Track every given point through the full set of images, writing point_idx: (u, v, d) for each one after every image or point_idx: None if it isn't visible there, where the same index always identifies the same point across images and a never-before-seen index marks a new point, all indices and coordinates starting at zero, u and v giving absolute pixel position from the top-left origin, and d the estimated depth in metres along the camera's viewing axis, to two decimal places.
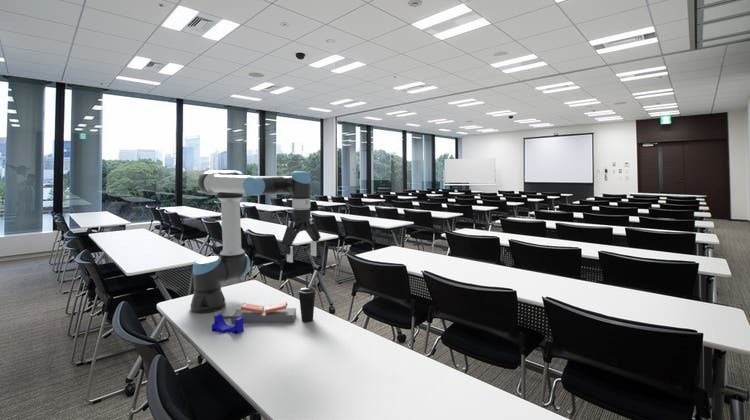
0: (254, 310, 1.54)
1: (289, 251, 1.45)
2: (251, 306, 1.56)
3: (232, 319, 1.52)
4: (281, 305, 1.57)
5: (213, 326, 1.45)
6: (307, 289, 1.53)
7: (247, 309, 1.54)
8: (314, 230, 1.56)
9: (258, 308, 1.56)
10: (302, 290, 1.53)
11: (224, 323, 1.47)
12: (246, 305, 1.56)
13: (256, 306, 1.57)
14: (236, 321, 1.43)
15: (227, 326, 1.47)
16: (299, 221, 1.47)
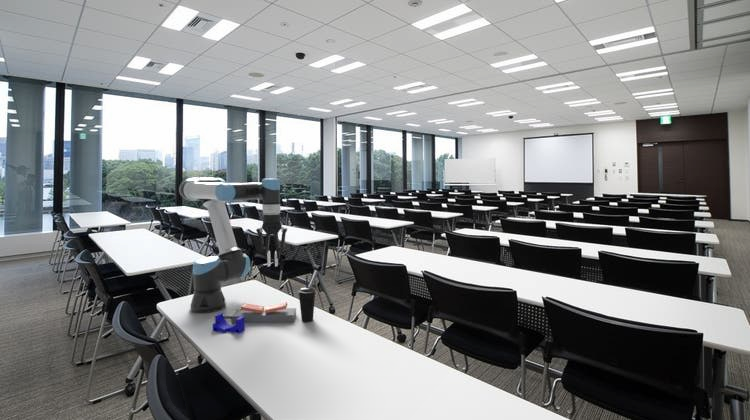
0: (254, 310, 1.54)
1: (266, 256, 1.59)
2: (251, 306, 1.56)
3: (232, 319, 1.52)
4: (281, 305, 1.57)
5: (214, 325, 1.45)
6: (307, 289, 1.53)
7: (247, 309, 1.54)
8: None
9: (258, 308, 1.56)
10: (302, 290, 1.53)
11: (225, 322, 1.48)
12: (246, 305, 1.56)
13: (256, 306, 1.57)
14: (237, 320, 1.43)
15: (228, 325, 1.47)
16: (264, 224, 1.57)
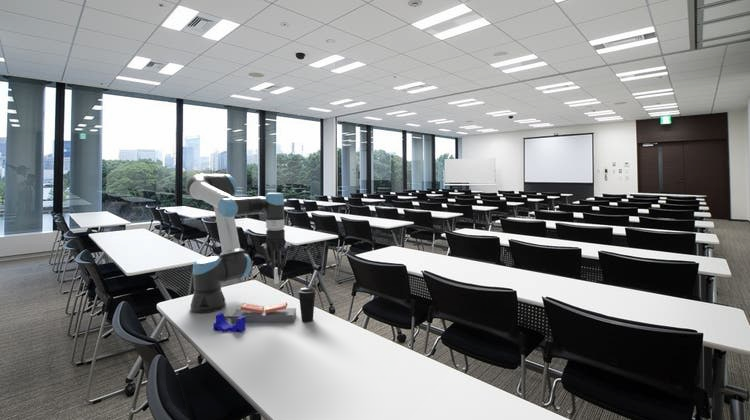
0: (254, 310, 1.54)
1: (273, 272, 1.55)
2: (251, 306, 1.56)
3: (232, 319, 1.52)
4: (281, 305, 1.57)
5: (215, 325, 1.46)
6: (307, 289, 1.53)
7: (247, 309, 1.54)
8: (284, 256, 1.55)
9: (258, 308, 1.56)
10: (302, 290, 1.53)
11: (226, 322, 1.48)
12: (246, 305, 1.56)
13: (256, 306, 1.57)
14: (238, 320, 1.44)
15: (229, 325, 1.48)
16: (268, 240, 1.53)
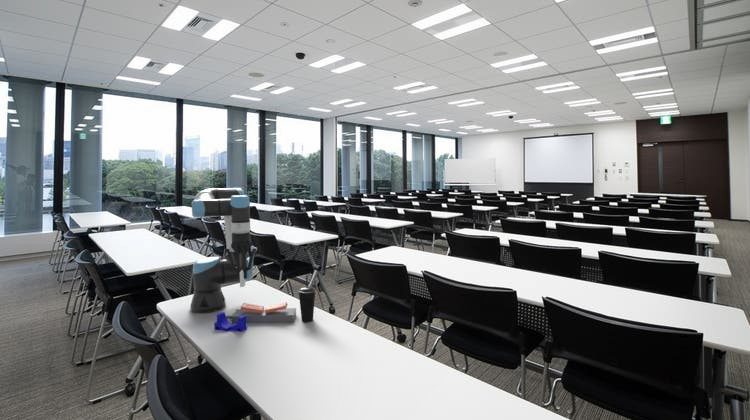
0: (254, 310, 1.54)
1: (239, 276, 1.54)
2: (251, 306, 1.56)
3: (232, 319, 1.52)
4: (281, 305, 1.57)
5: (216, 324, 1.46)
6: (307, 289, 1.53)
7: (247, 309, 1.54)
8: None
9: (258, 308, 1.56)
10: (302, 290, 1.53)
11: (227, 321, 1.49)
12: (246, 305, 1.56)
13: (256, 306, 1.57)
14: (239, 319, 1.45)
15: (230, 324, 1.48)
16: (233, 243, 1.52)
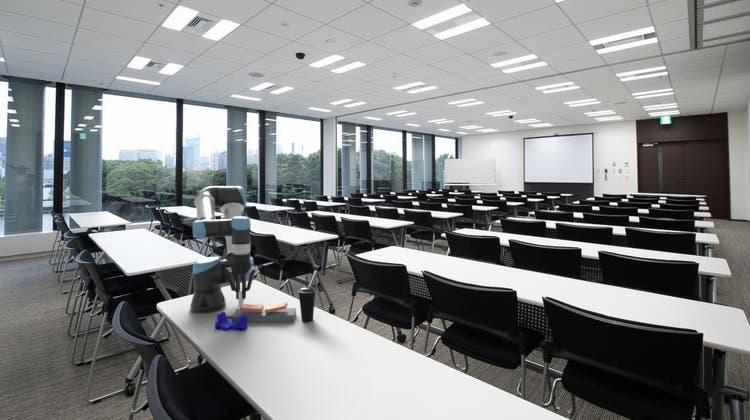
0: (253, 309, 1.54)
1: (237, 296, 1.55)
2: (250, 306, 1.56)
3: (232, 319, 1.52)
4: (281, 305, 1.57)
5: (217, 324, 1.47)
6: (307, 289, 1.53)
7: (246, 309, 1.54)
8: (248, 280, 1.55)
9: (257, 307, 1.56)
10: (302, 290, 1.53)
11: (227, 321, 1.50)
12: (245, 306, 1.56)
13: (255, 305, 1.57)
14: (240, 318, 1.45)
15: (230, 324, 1.49)
16: (233, 264, 1.53)
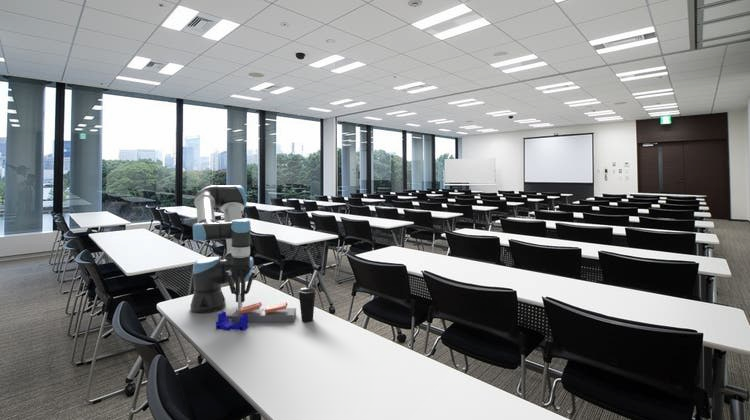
0: (252, 309, 1.54)
1: (237, 299, 1.55)
2: (248, 307, 1.56)
3: (232, 319, 1.52)
4: (281, 305, 1.57)
5: (217, 324, 1.47)
6: (307, 289, 1.53)
7: (245, 311, 1.54)
8: (248, 283, 1.55)
9: (255, 305, 1.56)
10: (302, 290, 1.53)
11: (228, 320, 1.50)
12: (243, 308, 1.56)
13: (253, 305, 1.57)
14: (241, 318, 1.46)
15: (231, 323, 1.49)
16: (232, 267, 1.53)
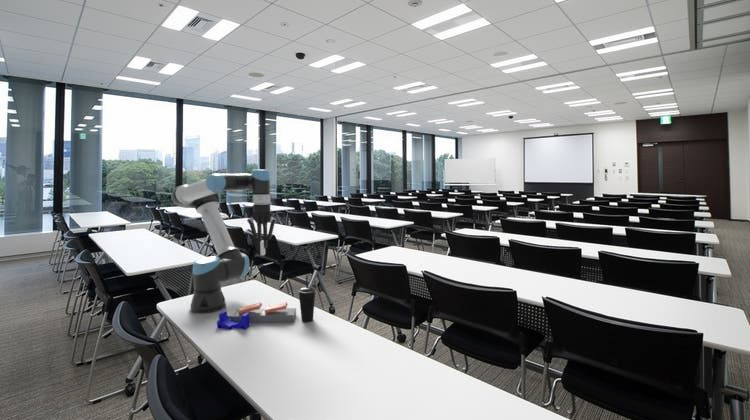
0: (252, 309, 1.54)
1: (259, 245, 1.64)
2: (248, 307, 1.56)
3: (232, 319, 1.52)
4: (281, 305, 1.57)
5: (219, 323, 1.48)
6: (307, 289, 1.53)
7: (245, 311, 1.54)
8: None
9: (255, 305, 1.56)
10: (302, 290, 1.53)
11: (229, 320, 1.51)
12: (243, 308, 1.56)
13: (253, 305, 1.57)
14: (243, 317, 1.47)
15: (232, 322, 1.50)
16: (254, 214, 1.62)
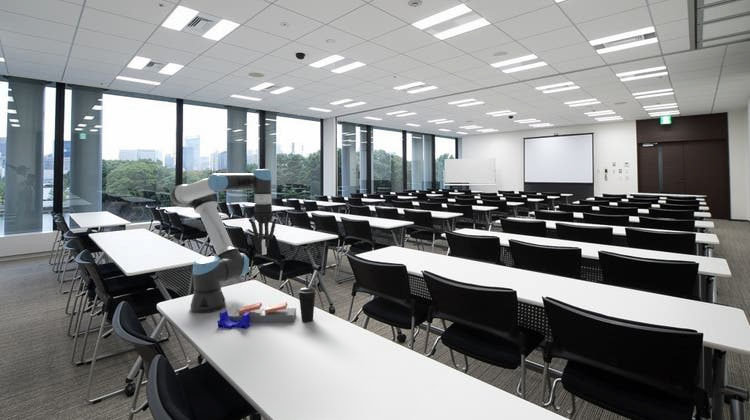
0: (252, 309, 1.54)
1: (261, 244, 1.65)
2: (248, 307, 1.56)
3: (232, 319, 1.52)
4: (281, 305, 1.57)
5: (219, 322, 1.48)
6: (307, 289, 1.53)
7: (245, 311, 1.54)
8: (271, 228, 1.65)
9: (255, 305, 1.56)
10: (302, 290, 1.53)
11: (229, 319, 1.51)
12: (243, 308, 1.56)
13: (253, 305, 1.57)
14: (243, 316, 1.47)
15: (233, 322, 1.51)
16: (256, 213, 1.63)
